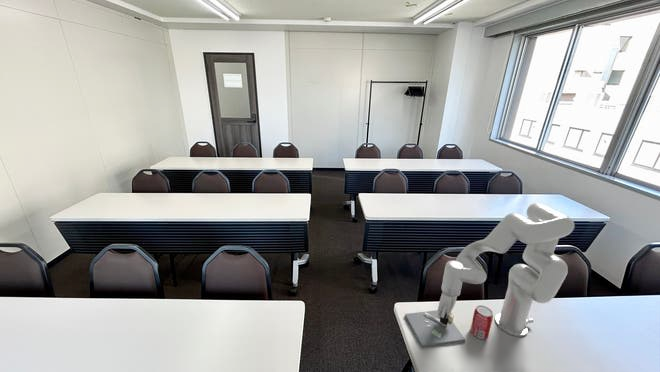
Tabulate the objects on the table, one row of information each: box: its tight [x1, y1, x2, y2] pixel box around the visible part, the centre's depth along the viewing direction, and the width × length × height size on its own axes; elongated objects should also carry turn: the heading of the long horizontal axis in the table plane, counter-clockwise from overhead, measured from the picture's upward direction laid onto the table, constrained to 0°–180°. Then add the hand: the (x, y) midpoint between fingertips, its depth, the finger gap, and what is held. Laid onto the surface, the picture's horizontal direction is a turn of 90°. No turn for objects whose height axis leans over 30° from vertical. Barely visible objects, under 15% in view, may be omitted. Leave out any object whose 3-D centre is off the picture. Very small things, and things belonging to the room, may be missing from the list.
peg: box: [424, 310, 455, 326], centre depth 121 cm, size 12×3×7 cm, turn 49°
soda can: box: [470, 304, 494, 340], centre depth 116 cm, size 7×7×13 cm
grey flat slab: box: [404, 309, 466, 349], centre depth 120 cm, size 20×17×2 cm
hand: (444, 320), depth 120 cm, fingers closed on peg, 2 cm apart
